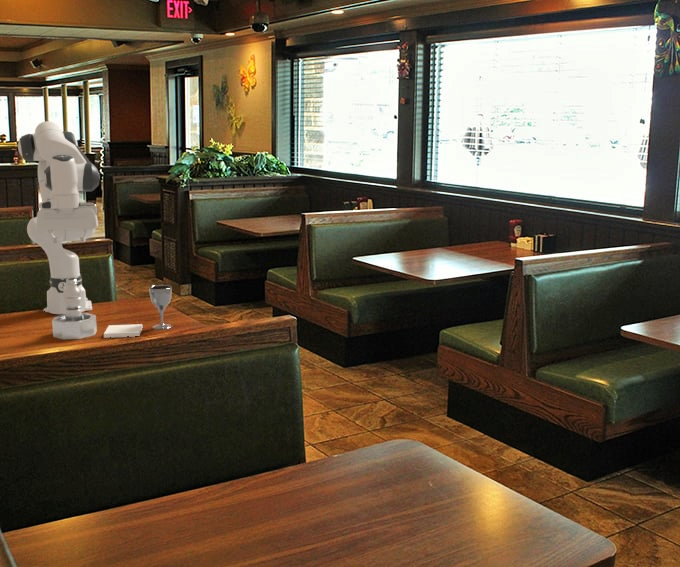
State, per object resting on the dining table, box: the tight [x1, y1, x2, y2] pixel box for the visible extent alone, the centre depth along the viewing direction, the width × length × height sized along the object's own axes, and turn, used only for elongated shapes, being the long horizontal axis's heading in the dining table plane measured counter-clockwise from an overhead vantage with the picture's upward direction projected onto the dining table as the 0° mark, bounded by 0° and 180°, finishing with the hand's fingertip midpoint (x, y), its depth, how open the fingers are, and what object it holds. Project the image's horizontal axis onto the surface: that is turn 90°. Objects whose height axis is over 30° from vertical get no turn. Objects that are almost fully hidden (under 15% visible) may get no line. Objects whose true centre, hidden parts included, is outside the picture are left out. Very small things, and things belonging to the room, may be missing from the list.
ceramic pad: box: [103, 323, 143, 339], centre depth 283 cm, size 12×12×2 cm
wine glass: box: [148, 284, 173, 330], centre depth 291 cm, size 8×8×15 cm
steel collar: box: [51, 312, 98, 340], centre depth 282 cm, size 14×14×6 cm
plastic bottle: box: [63, 278, 83, 322], centre depth 280 cm, size 6×7×20 cm
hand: (69, 242), depth 276 cm, fingers open, 8 cm apart
